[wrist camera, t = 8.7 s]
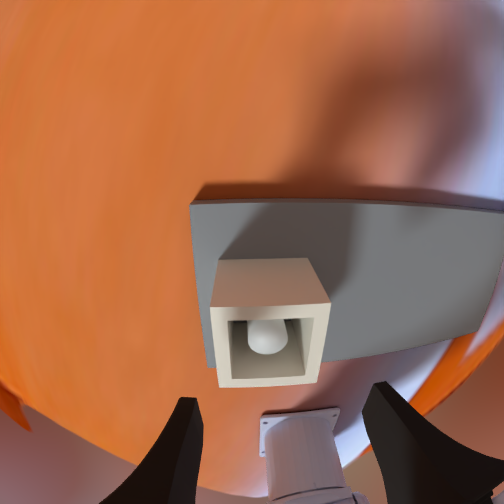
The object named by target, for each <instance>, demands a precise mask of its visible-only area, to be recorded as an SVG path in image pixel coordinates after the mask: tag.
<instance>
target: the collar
mask: <svg viewBox="0 0 504 504" xmlns="http://www.w3.org/2000/svg"><path fill="white" fill-rule="evenodd" d="M330 308H331V301H330V300H329V298H328V296H327V294H326V292H325V290H324V288H323V286H322V284H321V282H320V280H319V278H318V277H317V275H316V273H315V271H314V269H313V267H312V265H311V263H310V262H309V260H308V258H275V259H229V260H218V264H217V269H216V274H215V280H214V286H213V291H212V297H211V303H210V315H211V324H212V334H213V342H214V351H215V359H216V367H217V375H218V382H219V387H267V386H284V385H297V384H307V383H317V378H318V373H319V369H320V364H321V359H322V354H323V348H324V343H325V338H326V332H327V326H328V320H329V314H330ZM271 319H292V320H291V321H284V322H285V327H286V331H287V336H288V341H287V344H286V345H285V347H284V348H283V349H282V350H280V351H278V352H276V353H273V354H259V353H257V352H255V351H253V350H252V349H251V348H250V346H249V344H248V329H247V323H233V321H234V320H271Z"/></svg>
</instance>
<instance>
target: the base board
mask: <svg viewBox="0 0 504 504" xmlns="http://www.w3.org/2000/svg"><path fill="white" fill-rule="evenodd" d="M189 207H190V221H191V234H192V245H193V256H194V266H195V275H196V284H197V293H198V302H199V310H200V317H201V325H202V332H203V339H204V346H205V353H206V359H207V366H208V368H217V367H216V359H215V351H214V342H213V334H212V324H211V315H210V303H211V297H212V291H213V286H214V280H215V274H216V269H217V264H218V260H229V259H275V258H308V260H309V262H310V263H311V265H312V267H313V269H314V271H315V273H316V275H317V277H318V278H319V280H320V282H321V284H322V286H323V288H324V290H325V292H326V294H327V296H328V298H329V300H330V301H331V308H330V314H329V320H328V326H327V332H326V338H325V343H324V348H323V354H322V359H321V362H330V361H338V360H346V359H353V358H360V357H367V356H373V355H379V354H385V353H390V352H395V351H401V350H406V349H410V348H415V347H420V346H424V345H428V344H432V343H437V342H441V341H444V340H448V339H452V338H456V337H459V336H463V335H466V334H470V333H473V332H476V331H478V329H479V327H480V325H481V322H482V320H483V317H484V315H485V312H486V310H487V307H488V305H489V302H490V299H491V296H492V294H493V291H494V288H495V285H496V282H497V278H498V275H499V272H500V268H501V265H502V261H503V258H504V211H497V210H489V209H480V208H471V207H462V206H451V205H440V204H428V203H414V202H399V201H381V200H357V199H319V198H255V199H216V200H193V201H192V202H191V203H190V205H189ZM291 320H292V319H271V320H234V321H233V323H247V329H248V344H249V346H250V348H251V349H252V350H253V351H255V352H257V353H259V354H273V353H276V352H278V351H280V350H282V349H283V348H284V347H285V345H286V344H287V341H288V336H287V331H286V327H285V322H284V321H291Z"/></svg>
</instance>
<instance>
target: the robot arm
mask: <svg viewBox="0 0 504 504" xmlns="http://www.w3.org/2000/svg"><path fill="white" fill-rule="evenodd" d="M339 414H340V409H339V408H330V409H323V410H315V411H307V412H297V413H286V414H273V415H263V416H261V417H260V450H259V455H260V456H261V457H265V458H266V470H267V483H268V495H269V502H265V504H370V503H369V501H368V499H367V497H366V496H365V495H363V494H361V493H360V492H354V493H352V491H351V488H350V486H348V487H346V483H345V479H344V475H343V471H342V467H341V463H340V459H339V455H338V452H337V448H336V444H335V440H334V437H333V433H332V432H333V429H334V427H335V424H336V422H337V419H338V417H339ZM362 415H363V419H364V424H365V428H366V432H367V434H368V437H369V440H370V442H371V445H372V448H373V450H374V453H375V456H376V458H377V461H378V464H379V466H380V469H381V472H382V476H383V480H384V485H385V489H386V495H387V502H388V504H504V490H503V491H502V492H501V493H500V494H498V495H497V496H496V497H494V498H493V499H491V496H492V495H493V491H492V490H493V489H494V488H495V487H497V486H498V485H499V484H500V483H502V482H503V481H504V460H500V459H496V458H493V457H489V456H486V455H484V454H481V453H479V452H476V451H474V450H472V449H470V448H468V447H466V446H464V445H462V444H460V443H458V442H456V441H455V440H453V439H452V438H450V437H449V436H447V435H446V434H444V433H443V432H441V431H440V430H439V429H437V428H436V427H435V426H433V425H432V424H431V423H430V422H428V421H427V420H426V419H425V418H424V417H423V416H422V415H420V414H419V413H418V412H417V411H416V410H415V409H414V408H413V407H412V406H411V405H410V404H409V403H408V402H407V401H406V400H405V399H404V398H403V397H402V396H401V395H400V394H399V393H398V392H397V391H396V390H395V389H394V388H393V387H392V386H390V385H389V384H388V383H387V382H386V381H384V382H379V383H375V384H373V386H372V389H371V391H370V394H369V396H368V398H367V401H366V403H365V405H364V408H363V410H362ZM203 426H204V424H203V421H202V417H201V413H200V410H199V406H198V402H197V398H191V397H181V398H179V400H178V402H177V405H176V407H175V409H174V411H173V413H172V415H171V417H170V418H169V420H168V422H167V424H166V426H165V427H164V429H163V431H162V432H161V434H160V436H159V437H158V439H157V441H156V442H155V444H154V445H153V446H152V448H151V449H150V451H149V452H148V454H147V455H146V456H145V458H144V459H143V460H142V462H141V463H140V464H139V465H138V467H137V468H136V469H135V470H134V471H133V473H132V474H131V475H130V476H129V477H128V478H127V479H126V480H125V481H124V482H123V483H122V484H121V485H120V486H119V487H118V488H117V489H116V490H115V491H114V492H112V493H111V494H110V495H109V496H108V497H107V498H105V499H104V500H103V501H101V502H100V503H99V504H195V496H196V486H197V480H198V473H199V467H200V461H201V454H202V448H203Z"/></svg>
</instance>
